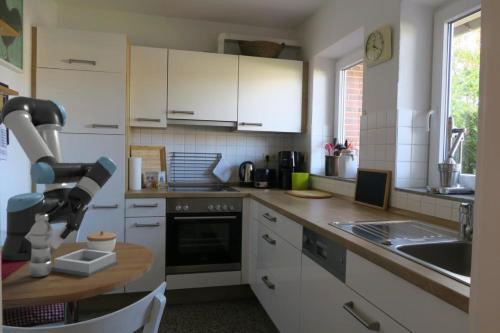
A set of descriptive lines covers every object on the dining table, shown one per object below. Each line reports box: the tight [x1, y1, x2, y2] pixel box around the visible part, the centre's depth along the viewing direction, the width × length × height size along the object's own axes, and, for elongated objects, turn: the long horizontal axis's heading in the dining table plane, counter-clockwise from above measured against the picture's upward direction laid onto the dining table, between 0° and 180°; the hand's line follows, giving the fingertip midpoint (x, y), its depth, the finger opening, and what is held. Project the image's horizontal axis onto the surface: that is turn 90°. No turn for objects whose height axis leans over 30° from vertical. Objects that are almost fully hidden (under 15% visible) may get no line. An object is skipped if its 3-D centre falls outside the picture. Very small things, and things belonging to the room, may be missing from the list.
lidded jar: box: [86, 230, 117, 252], centre depth 139 cm, size 11×11×9 cm
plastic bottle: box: [28, 214, 53, 278], centre depth 113 cm, size 6×7×20 cm
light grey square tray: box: [51, 248, 119, 277], centre depth 124 cm, size 15×15×4 cm
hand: (39, 243), depth 112 cm, fingers open, 13 cm apart
